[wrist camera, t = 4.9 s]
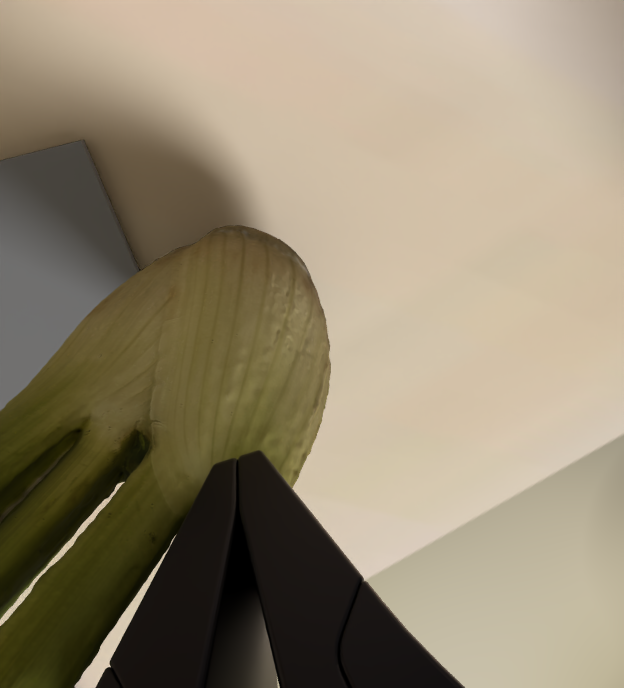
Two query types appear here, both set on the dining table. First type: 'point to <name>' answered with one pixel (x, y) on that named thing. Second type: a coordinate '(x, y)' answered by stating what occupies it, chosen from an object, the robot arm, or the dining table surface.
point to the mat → (52, 256)
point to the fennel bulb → (148, 434)
